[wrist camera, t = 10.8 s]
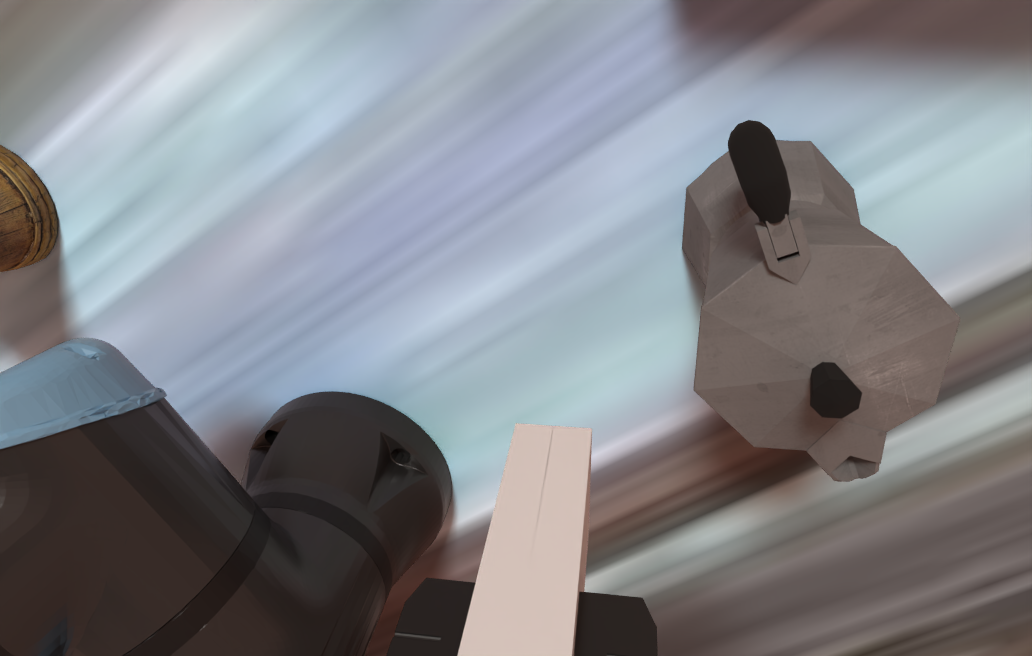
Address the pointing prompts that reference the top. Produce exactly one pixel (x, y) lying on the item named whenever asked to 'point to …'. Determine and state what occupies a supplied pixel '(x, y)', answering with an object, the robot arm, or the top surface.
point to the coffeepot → (807, 308)
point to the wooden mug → (23, 214)
